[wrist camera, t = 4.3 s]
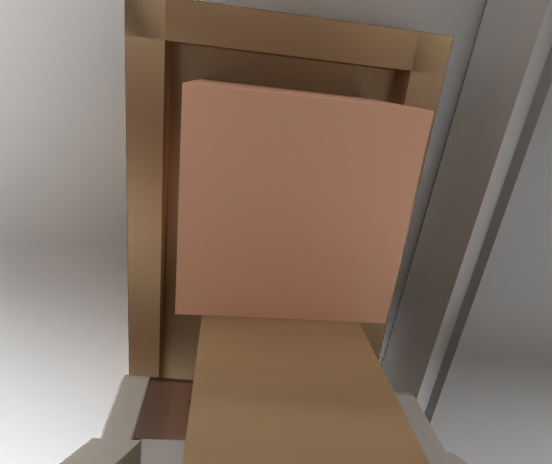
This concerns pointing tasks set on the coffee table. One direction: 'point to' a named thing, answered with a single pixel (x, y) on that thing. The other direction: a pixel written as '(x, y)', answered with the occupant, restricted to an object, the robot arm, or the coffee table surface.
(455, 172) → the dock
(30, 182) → the coffee table surface
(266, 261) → the block
